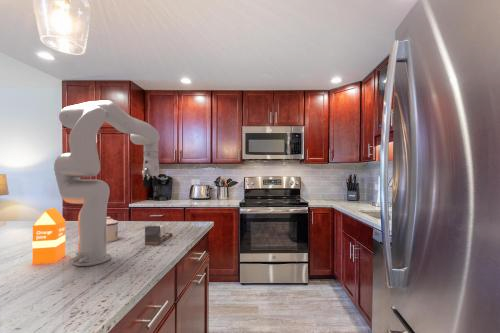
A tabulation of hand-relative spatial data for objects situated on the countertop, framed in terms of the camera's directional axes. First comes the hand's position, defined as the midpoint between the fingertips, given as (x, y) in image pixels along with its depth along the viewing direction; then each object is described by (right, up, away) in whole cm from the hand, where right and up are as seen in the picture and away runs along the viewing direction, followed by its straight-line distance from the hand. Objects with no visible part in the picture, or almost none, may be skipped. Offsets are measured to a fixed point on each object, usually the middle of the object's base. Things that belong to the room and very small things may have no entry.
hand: (150, 186), depth 141 cm
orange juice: (-26, -26, -38) cm, 53 cm away
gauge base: (+8, -26, -10) cm, 29 cm away
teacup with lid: (-19, -27, -9) cm, 34 cm away
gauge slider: (+8, -24, -12) cm, 28 cm away
